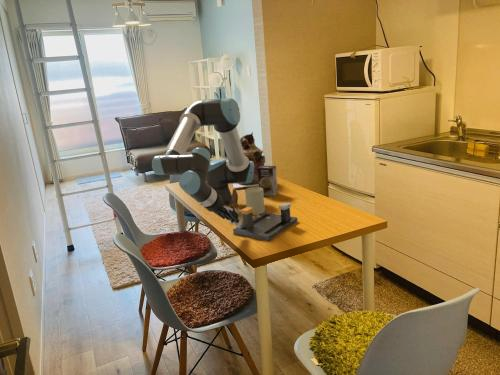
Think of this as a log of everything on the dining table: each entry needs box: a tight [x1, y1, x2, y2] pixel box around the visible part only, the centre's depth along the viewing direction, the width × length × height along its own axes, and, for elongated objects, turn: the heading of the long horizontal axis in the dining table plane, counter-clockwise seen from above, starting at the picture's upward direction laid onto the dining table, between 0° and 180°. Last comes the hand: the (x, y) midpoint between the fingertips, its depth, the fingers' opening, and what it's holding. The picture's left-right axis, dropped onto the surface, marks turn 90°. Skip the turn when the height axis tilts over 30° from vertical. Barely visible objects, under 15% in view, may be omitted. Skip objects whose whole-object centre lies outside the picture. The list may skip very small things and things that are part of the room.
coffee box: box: [258, 165, 278, 197], centre depth 225 cm, size 9×6×16 cm
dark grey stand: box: [232, 202, 298, 242], centre depth 177 cm, size 18×24×10 cm
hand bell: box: [228, 188, 243, 226], centre depth 186 cm, size 8×8×16 cm
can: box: [244, 186, 266, 216], centre depth 199 cm, size 9×9×12 cm
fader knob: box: [240, 206, 254, 229], centre depth 175 cm, size 3×5×9 cm
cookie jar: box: [232, 131, 266, 189], centre depth 249 cm, size 25×25×32 cm
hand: (239, 224), depth 170 cm, fingers closed
